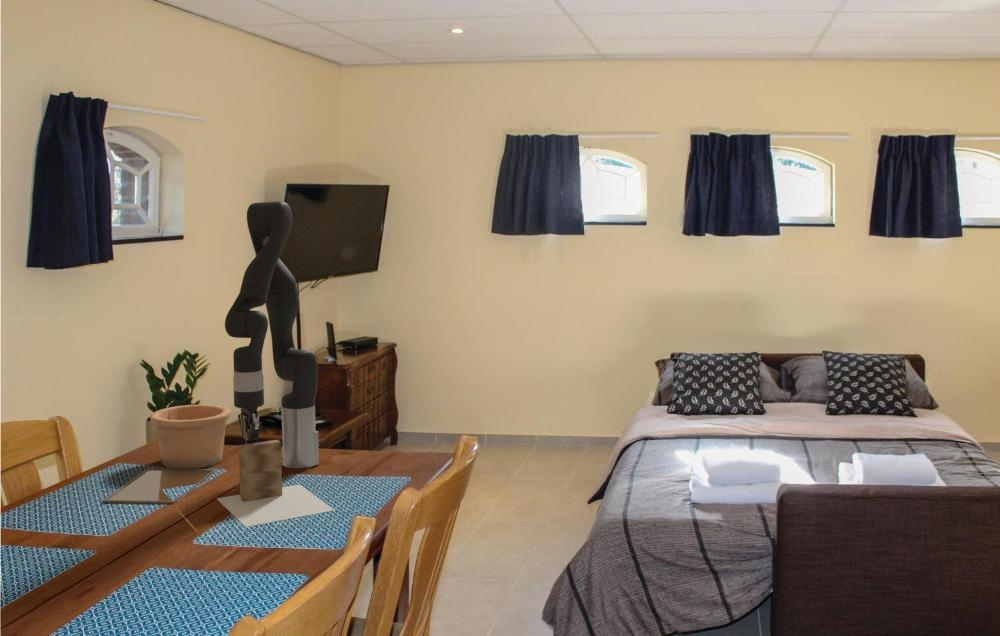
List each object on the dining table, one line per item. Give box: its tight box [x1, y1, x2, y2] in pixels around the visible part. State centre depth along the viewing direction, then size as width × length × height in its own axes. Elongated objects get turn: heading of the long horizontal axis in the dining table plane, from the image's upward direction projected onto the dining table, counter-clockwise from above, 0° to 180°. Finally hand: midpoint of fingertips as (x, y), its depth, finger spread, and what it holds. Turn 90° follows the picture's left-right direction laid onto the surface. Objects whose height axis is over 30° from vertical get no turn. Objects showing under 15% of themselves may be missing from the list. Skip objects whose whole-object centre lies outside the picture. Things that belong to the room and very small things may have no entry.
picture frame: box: [101, 468, 216, 505], centre depth 251 cm, size 19×1×28 cm
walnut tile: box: [238, 439, 283, 502], centre depth 240 cm, size 10×2×14 cm, turn 122°
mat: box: [216, 484, 335, 528], centre depth 235 cm, size 22×24×1 cm
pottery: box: [149, 403, 231, 469], centre depth 273 cm, size 22×22×14 cm
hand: (250, 453), depth 245 cm, fingers closed
